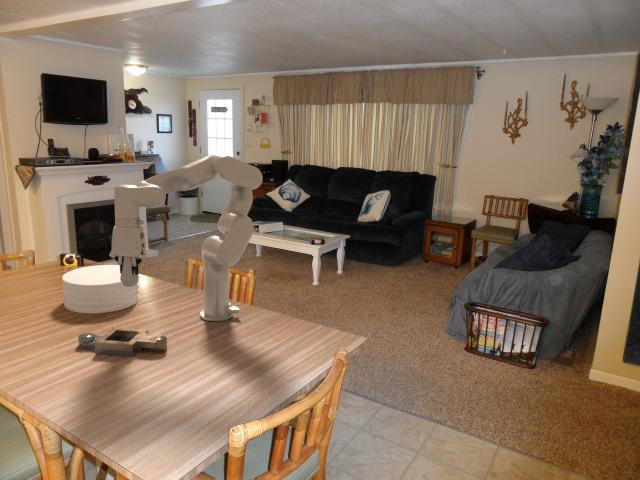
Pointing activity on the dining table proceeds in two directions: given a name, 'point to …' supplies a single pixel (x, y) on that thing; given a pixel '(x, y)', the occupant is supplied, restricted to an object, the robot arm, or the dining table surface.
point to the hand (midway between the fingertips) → (129, 275)
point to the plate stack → (97, 290)
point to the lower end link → (89, 343)
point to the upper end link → (140, 340)
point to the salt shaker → (128, 273)
